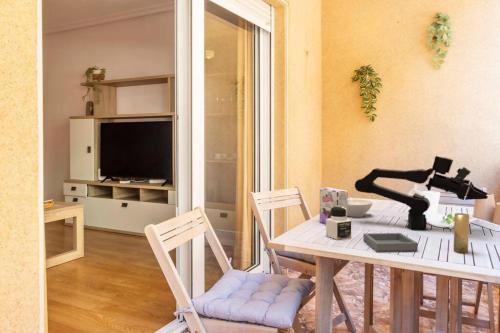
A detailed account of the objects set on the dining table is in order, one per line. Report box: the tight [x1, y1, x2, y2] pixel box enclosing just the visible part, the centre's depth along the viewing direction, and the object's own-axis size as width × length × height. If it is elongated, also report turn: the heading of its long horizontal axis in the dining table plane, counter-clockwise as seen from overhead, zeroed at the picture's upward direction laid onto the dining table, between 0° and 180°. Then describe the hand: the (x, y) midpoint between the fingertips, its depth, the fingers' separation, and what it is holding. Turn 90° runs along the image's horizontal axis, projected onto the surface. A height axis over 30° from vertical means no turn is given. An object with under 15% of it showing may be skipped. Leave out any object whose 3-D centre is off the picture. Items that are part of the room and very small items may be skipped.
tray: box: [363, 232, 419, 253], centre depth 142 cm, size 14×14×3 cm
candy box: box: [319, 186, 349, 225], centre depth 177 cm, size 14×6×16 cm, turn 24°
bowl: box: [347, 198, 373, 218], centre depth 197 cm, size 16×16×7 cm
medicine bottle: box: [325, 207, 352, 241], centre depth 155 cm, size 7×7×12 cm
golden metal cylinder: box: [453, 212, 470, 254], centre depth 134 cm, size 4×4×13 cm
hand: (487, 195), depth 154 cm, fingers open, 9 cm apart
